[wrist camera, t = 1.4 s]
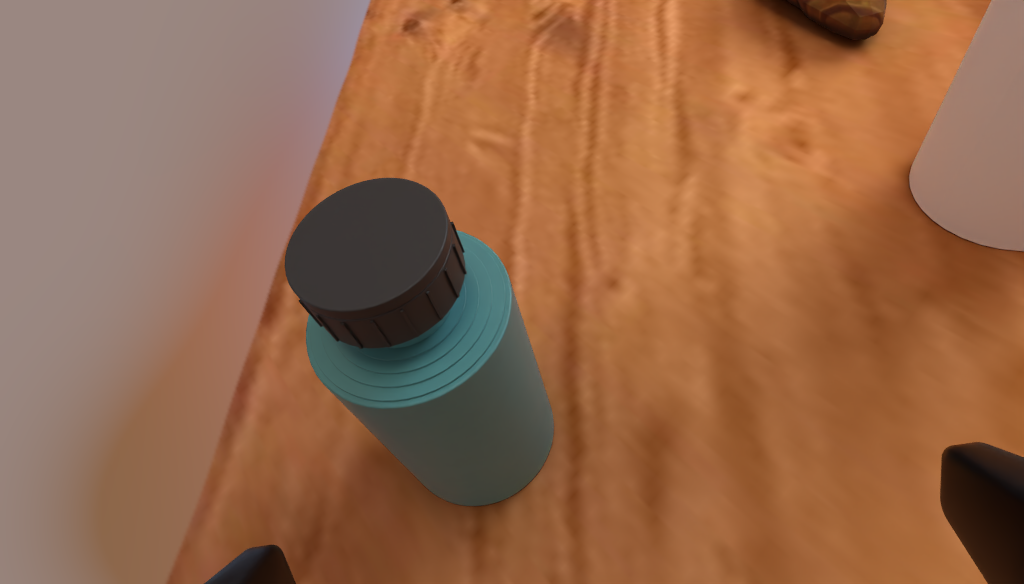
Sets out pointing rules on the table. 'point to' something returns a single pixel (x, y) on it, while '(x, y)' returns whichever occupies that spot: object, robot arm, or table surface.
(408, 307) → the cap
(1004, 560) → the robot arm
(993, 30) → the cylindrical container
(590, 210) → the table surface
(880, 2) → the croissant
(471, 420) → the bottle
